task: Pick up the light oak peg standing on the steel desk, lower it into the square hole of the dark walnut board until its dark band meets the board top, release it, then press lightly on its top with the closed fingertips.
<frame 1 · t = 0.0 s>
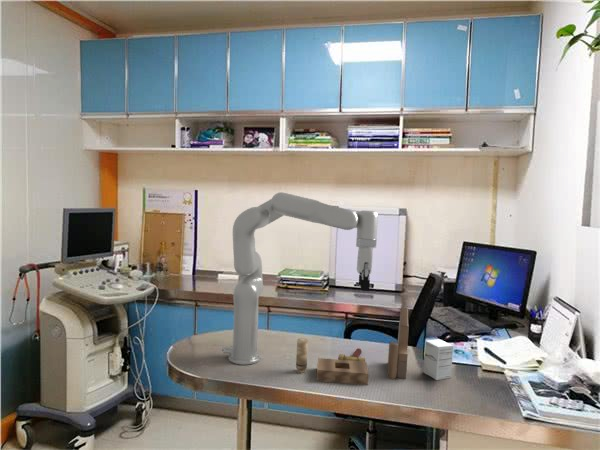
hand: (363, 287, 159), 31 cm above the table, tool pointing down, fingers open, 9 cm apart
gavel: (355, 360, 169), on the table
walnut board: (341, 376, 152), on the table
wooden toy: (396, 371, 159), on the table
supplement box: (436, 375, 157), on the table
oak peg: (301, 371, 154), on the table
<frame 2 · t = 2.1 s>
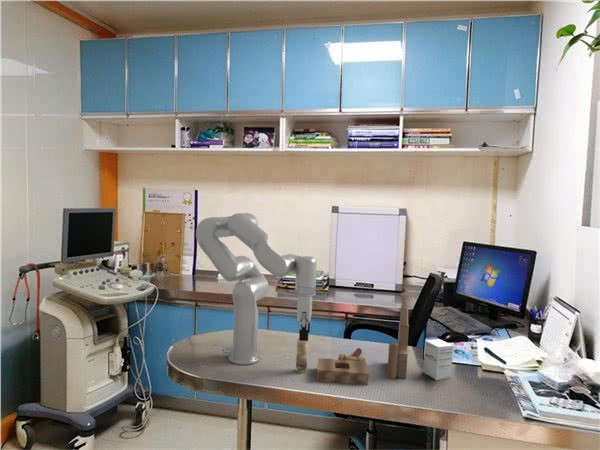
hand: (304, 336, 153), 13 cm above the table, tool pointing down, fingers open, 9 cm apart
nothing on the table moved.
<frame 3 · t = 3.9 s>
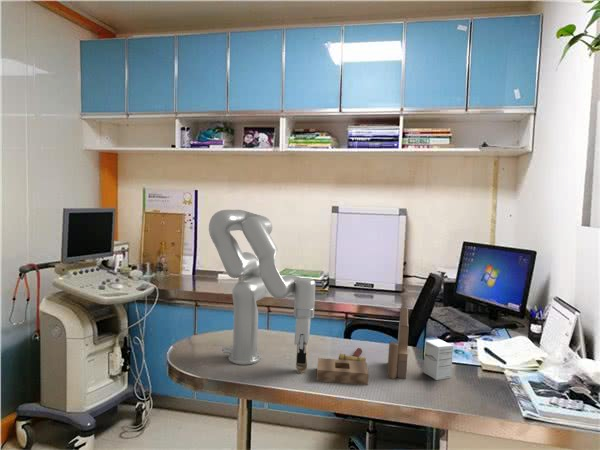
hand: (301, 360, 154), 4 cm above the table, tool pointing down, fingers closed on oak peg, 4 cm apart
oak peg: (301, 371, 154), on the table, touching gripper
everything else where it was.
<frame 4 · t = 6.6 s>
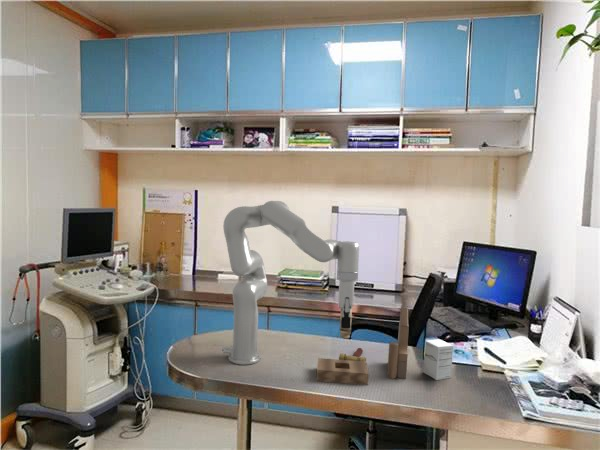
hand: (345, 325, 151), 19 cm above the table, tool pointing down, fingers closed on oak peg, 4 cm apart
oak peg: (345, 337, 151), point 15 cm above the table, touching gripper
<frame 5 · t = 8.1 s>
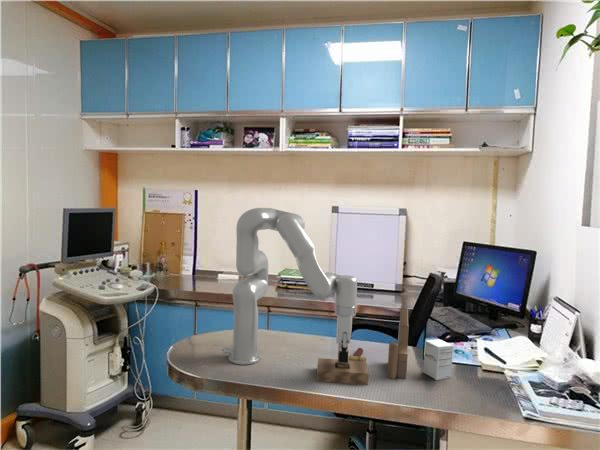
hand: (343, 358, 151), 7 cm above the table, tool pointing down, fingers closed on oak peg, 4 cm apart
oak peg: (342, 370, 152), point 2 cm above the table, touching gripper
when the fingers open (6 cm above the table, at t = 9.3 s): oak peg stays where it is, resting on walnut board.
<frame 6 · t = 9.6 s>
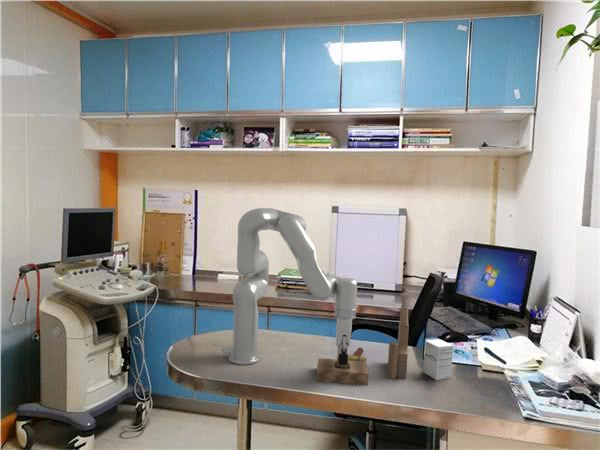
hand: (342, 359, 151), 6 cm above the table, tool pointing down, fingers open, 7 cm apart
oak peg: (341, 373, 152), point 1 cm above the table, touching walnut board
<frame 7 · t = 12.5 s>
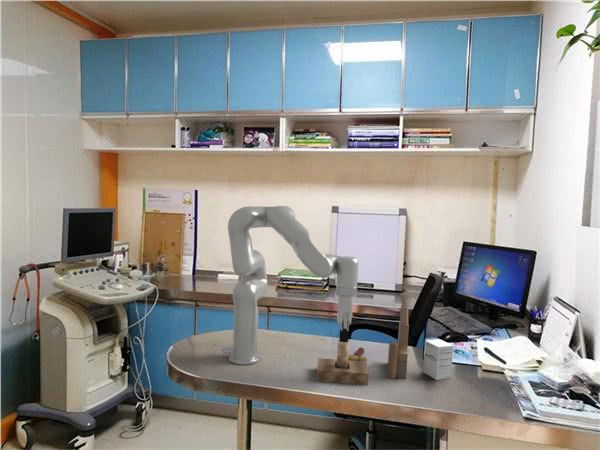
hand: (343, 340, 151), 13 cm above the table, tool pointing down, fingers closed
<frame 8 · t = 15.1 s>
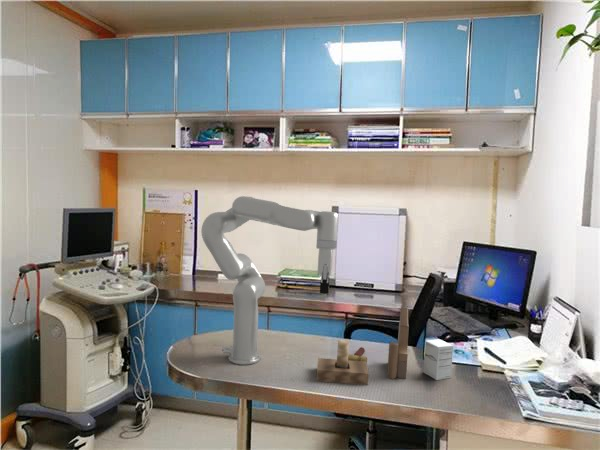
hand: (324, 293, 156), 29 cm above the table, tool pointing down, fingers closed
at the end: oak peg 0.0 cm off-centre on the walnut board, point 1.0 cm above the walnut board's base; oak peg tilted 0°; the gripper is holding nothing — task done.
